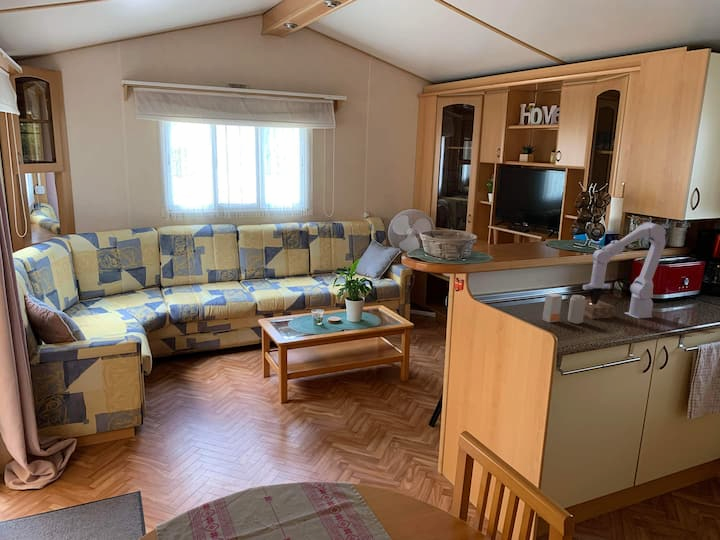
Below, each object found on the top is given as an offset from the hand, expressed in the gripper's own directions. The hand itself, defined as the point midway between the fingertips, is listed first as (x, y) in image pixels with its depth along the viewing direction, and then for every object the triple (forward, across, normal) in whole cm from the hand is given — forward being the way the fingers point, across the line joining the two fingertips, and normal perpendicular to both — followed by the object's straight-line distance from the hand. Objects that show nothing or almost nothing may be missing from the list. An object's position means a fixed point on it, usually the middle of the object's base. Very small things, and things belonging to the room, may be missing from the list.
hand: (594, 303), depth 260 cm
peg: (+4, 0, 0) cm, 4 cm away
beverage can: (+5, +18, +9) cm, 21 cm away
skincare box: (+5, +28, +5) cm, 29 cm away
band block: (+5, 0, 0) cm, 5 cm away
